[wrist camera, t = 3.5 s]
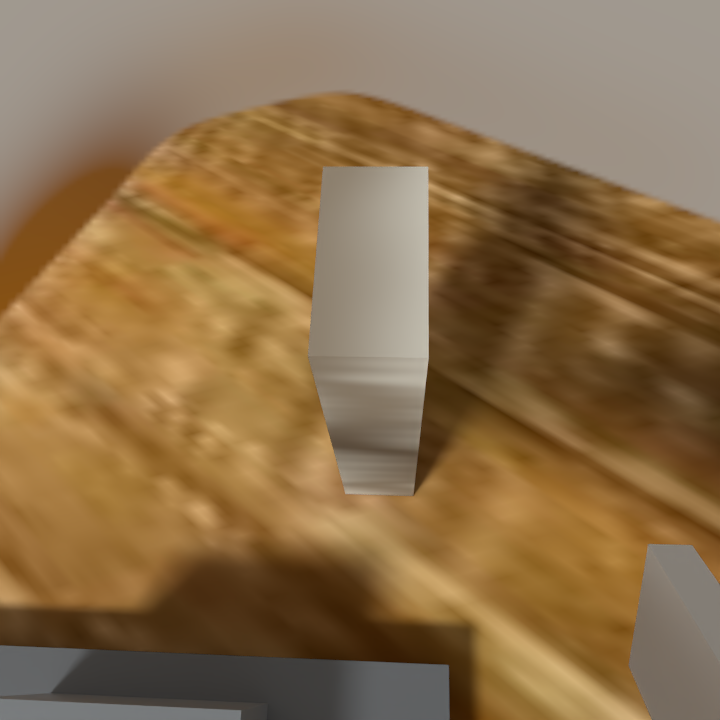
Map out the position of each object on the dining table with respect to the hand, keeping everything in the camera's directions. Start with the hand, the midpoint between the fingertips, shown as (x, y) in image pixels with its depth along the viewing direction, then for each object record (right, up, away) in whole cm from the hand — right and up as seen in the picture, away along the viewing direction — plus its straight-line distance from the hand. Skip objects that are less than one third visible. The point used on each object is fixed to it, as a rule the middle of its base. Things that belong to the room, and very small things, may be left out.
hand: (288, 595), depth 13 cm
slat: (+2, +2, +13) cm, 13 cm away
